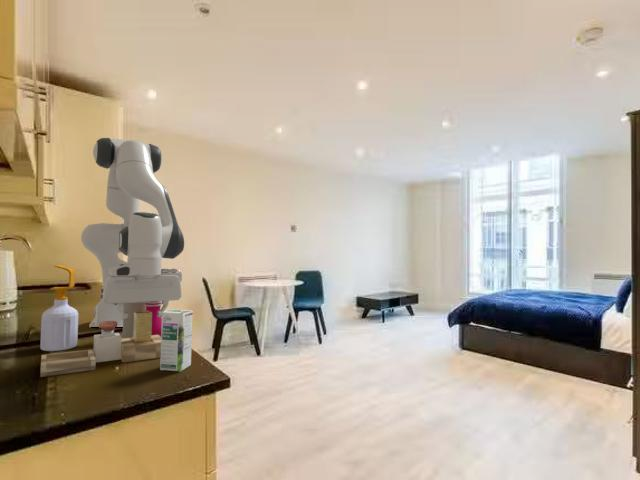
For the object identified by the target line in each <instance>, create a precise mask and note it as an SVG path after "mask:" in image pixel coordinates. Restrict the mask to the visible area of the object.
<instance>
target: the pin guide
mask: <svg viewBox="0 0 640 480" xmlns="http://www.w3.org/2000/svg"><path fill="white" fill-rule="evenodd" d="M101 335H102V333H101V334H94V335H93V349H92V351H93V353H94V356H95V359H96V363H103V362H109V361H110V362H111V361H118V360H121V342H122V336H121V335H122V334H120V333H119V332H114V337H107V338H101Z"/></svg>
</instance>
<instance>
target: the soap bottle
mask: <svg viewBox="0 0 640 480" xmlns="http://www.w3.org/2000/svg"><path fill="white" fill-rule="evenodd" d="M53 267H54V268H58V269H61V270H65V271H67V272H68V276H69V277H68V286H54V287H51V288H50V290H52V291H53V290H54V291H55V293H56V294H57V296H55V297H54V300H53V301H54V302H53V305H52V306H51V307H49V308H47V309H46V310H45V311H44V312H42V315H41V316H40V317H41V321H40V323H41V324H40V343H39V344H40V345H39V346H40V347H39V348H40V350H41V351H44V352H61V351H67V350H72V349H73V348H76V347H77V345H78V335H79V334H78V333H79V329H78V328H79V312H78V310H77V309H76V308H75V307H72V306H70V305H69V303H68V301H69V300H68V299H69V298H68V296H65V293H68V292H67V291H68V290H70V289H72V288H74V287H75V283H76V282H75V278H76V277H75V276H76V271H75V269H73V268H72V267H68V266H66V265H61V264H55V265H53Z"/></svg>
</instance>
